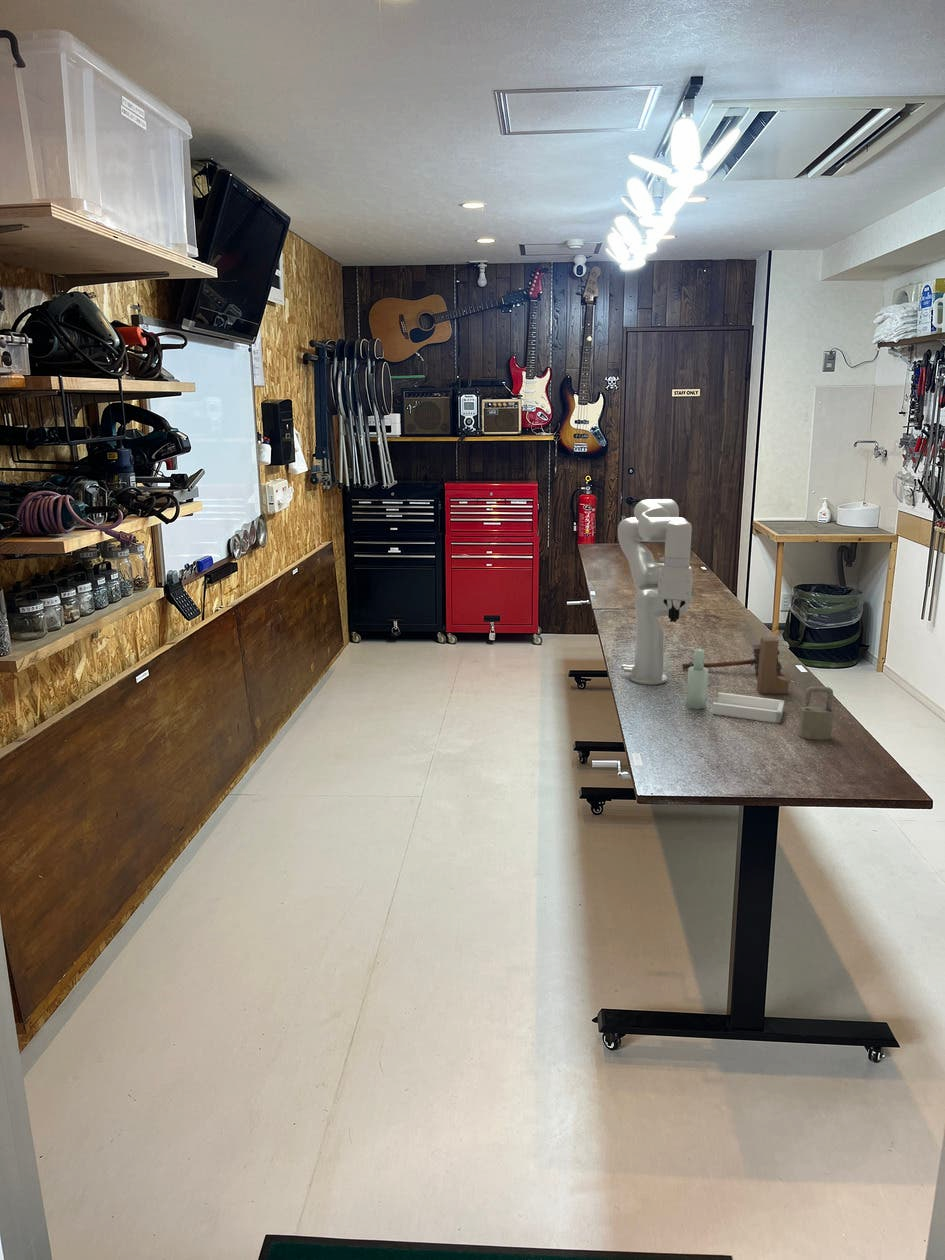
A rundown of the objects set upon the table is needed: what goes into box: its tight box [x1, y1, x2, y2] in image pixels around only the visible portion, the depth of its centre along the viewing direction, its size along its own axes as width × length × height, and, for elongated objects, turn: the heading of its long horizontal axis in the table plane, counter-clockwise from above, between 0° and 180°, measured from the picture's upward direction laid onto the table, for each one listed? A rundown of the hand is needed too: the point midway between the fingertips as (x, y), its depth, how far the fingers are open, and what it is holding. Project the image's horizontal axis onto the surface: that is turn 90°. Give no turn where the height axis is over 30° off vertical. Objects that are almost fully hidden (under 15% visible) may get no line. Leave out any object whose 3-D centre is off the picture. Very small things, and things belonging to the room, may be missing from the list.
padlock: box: [798, 685, 834, 740], centre depth 254 cm, size 4×8×15 cm, turn 83°
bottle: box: [685, 648, 709, 710], centre depth 279 cm, size 6×6×18 cm
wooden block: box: [756, 636, 790, 695], centre depth 292 cm, size 9×4×18 cm, turn 91°
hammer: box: [681, 643, 783, 676], centre depth 313 cm, size 7×33×10 cm, turn 78°
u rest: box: [712, 692, 785, 724], centre depth 275 cm, size 20×11×3 cm, turn 67°
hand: (673, 620), depth 277 cm, fingers closed
